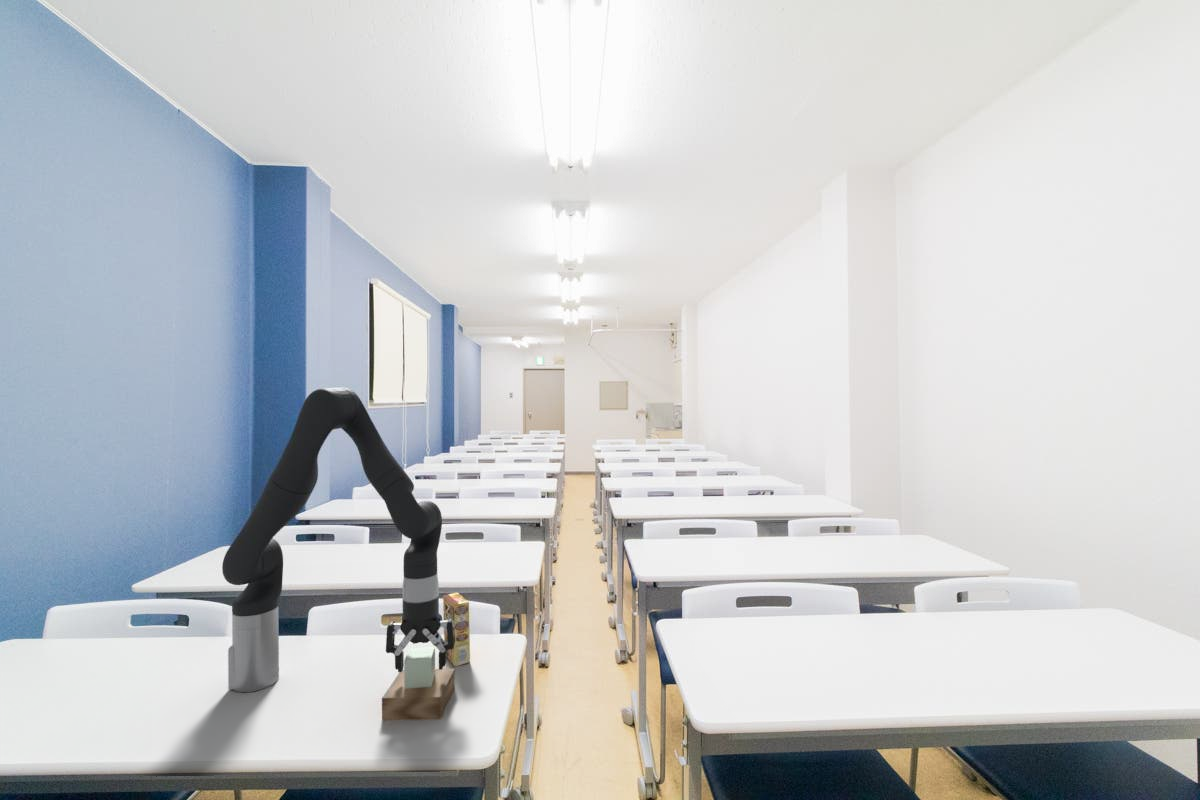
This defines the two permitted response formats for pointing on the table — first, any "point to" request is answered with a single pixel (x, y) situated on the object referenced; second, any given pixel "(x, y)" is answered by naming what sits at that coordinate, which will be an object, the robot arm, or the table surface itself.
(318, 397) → the robot arm
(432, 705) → the walnut block
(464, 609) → the candy box
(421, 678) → the sage cube
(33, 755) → the table surface
